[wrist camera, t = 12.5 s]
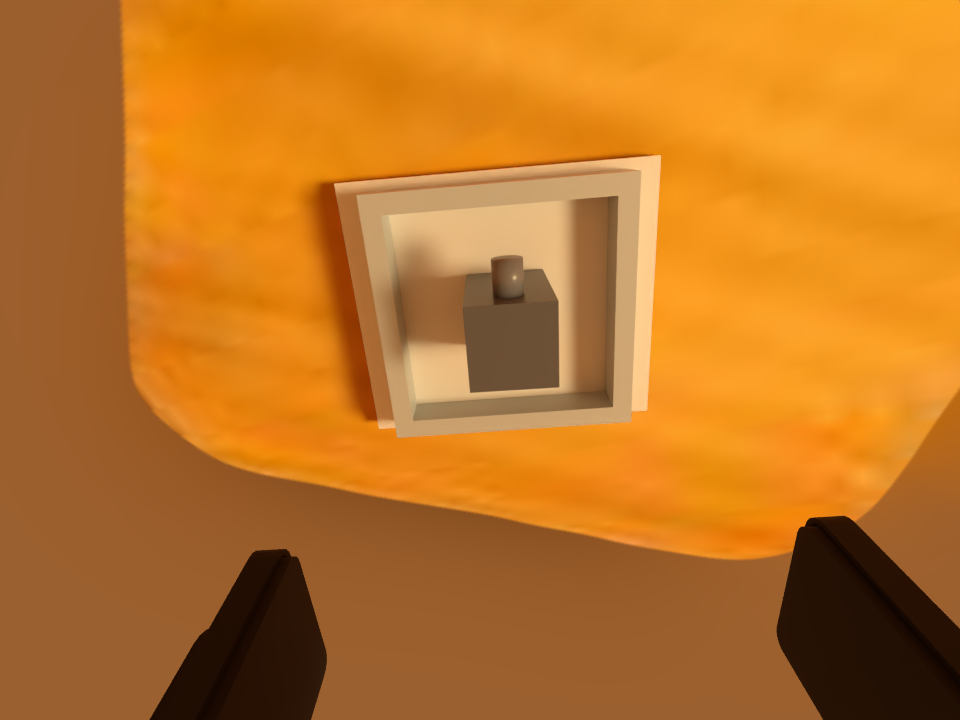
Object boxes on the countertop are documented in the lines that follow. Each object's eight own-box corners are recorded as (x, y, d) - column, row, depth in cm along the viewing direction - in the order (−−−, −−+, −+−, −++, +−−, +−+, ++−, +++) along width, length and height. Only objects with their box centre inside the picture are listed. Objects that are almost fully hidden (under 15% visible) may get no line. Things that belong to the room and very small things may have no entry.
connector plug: (464, 243, 26) (459, 269, 20) (541, 238, 26) (558, 262, 20) (472, 344, 28) (469, 393, 22) (544, 340, 28) (559, 387, 22)
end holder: (339, 182, 25) (321, 186, 23) (654, 155, 25) (675, 155, 22) (382, 420, 31) (372, 447, 28) (642, 402, 30) (657, 428, 28)
